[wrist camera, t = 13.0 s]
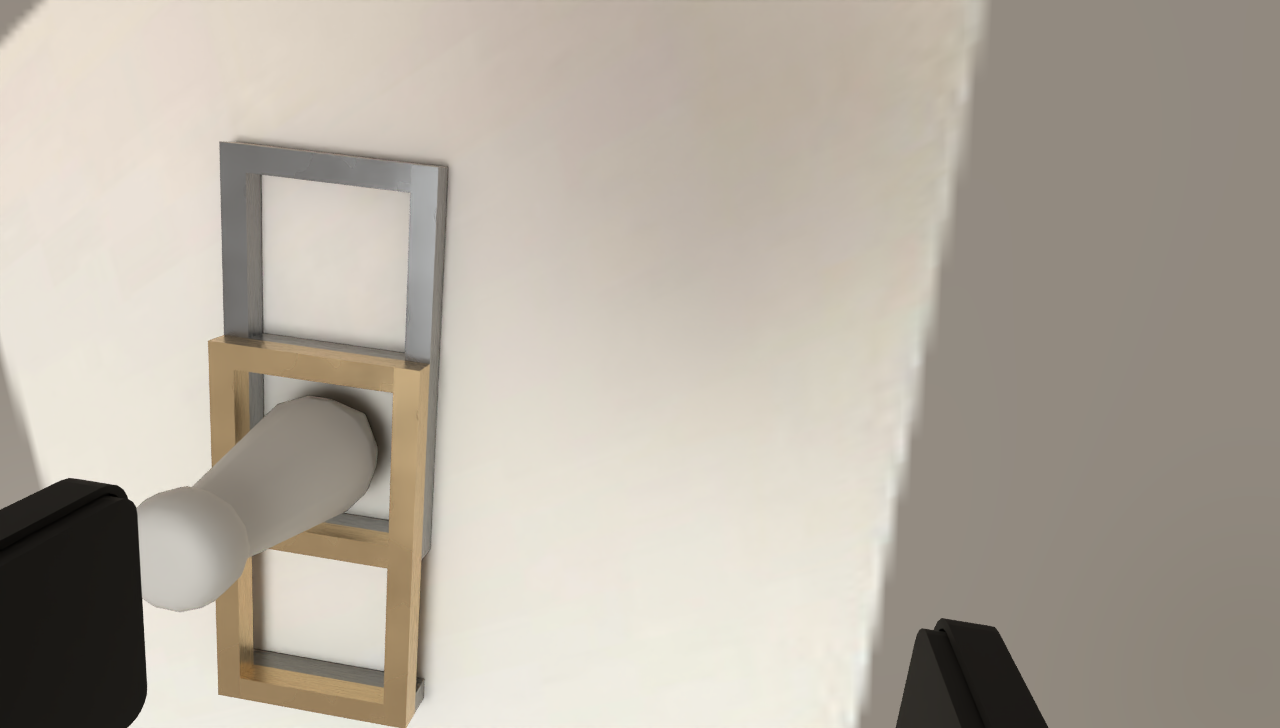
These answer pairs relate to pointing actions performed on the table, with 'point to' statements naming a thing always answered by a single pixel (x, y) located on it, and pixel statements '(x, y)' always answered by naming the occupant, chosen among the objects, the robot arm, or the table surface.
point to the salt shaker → (254, 500)
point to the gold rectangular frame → (330, 538)
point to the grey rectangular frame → (424, 266)
